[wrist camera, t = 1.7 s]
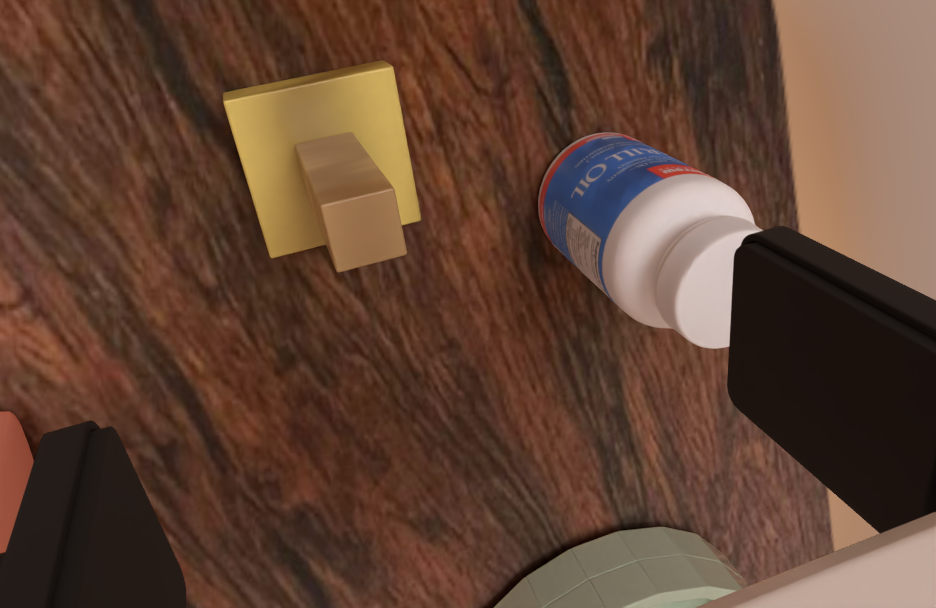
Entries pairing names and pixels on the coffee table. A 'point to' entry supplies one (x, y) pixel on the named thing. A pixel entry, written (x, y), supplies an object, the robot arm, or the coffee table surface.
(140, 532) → the robot arm
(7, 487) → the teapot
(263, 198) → the square plate with grip
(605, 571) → the bowl
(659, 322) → the pill bottle
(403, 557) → the coffee table surface
